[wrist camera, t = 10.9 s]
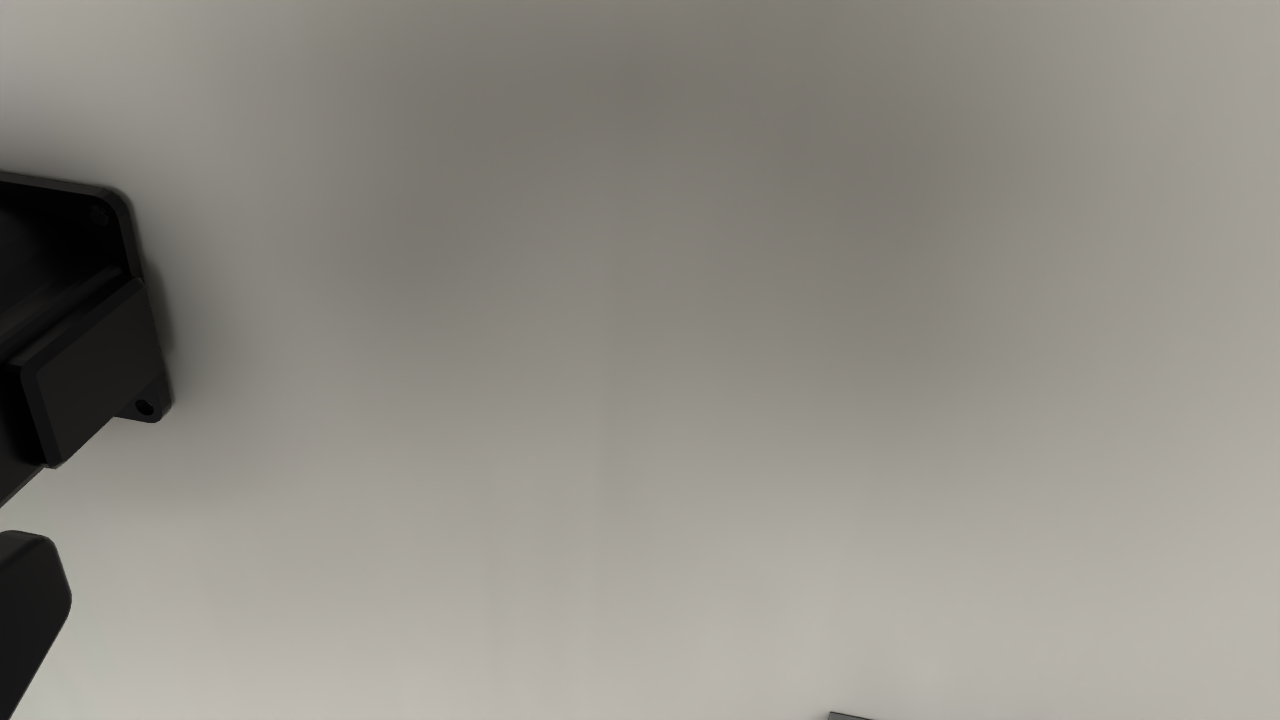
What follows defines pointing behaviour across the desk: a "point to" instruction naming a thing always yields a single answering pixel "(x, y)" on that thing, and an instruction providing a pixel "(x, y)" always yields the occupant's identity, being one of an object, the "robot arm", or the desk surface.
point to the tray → (841, 717)
